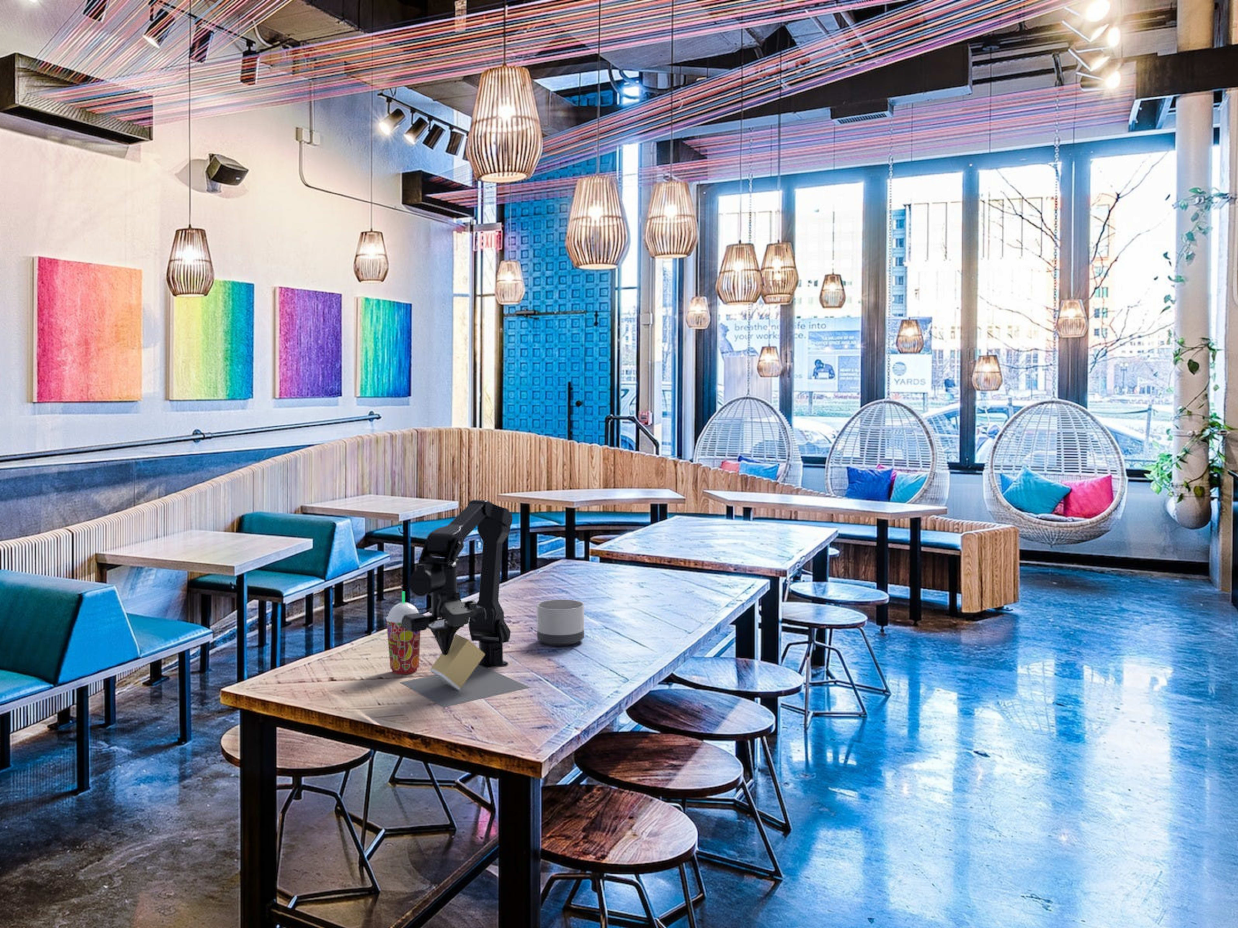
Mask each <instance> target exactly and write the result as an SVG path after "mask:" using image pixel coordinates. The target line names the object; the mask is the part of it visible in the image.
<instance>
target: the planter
mask: <svg viewBox="0 0 1238 928" xmlns="http://www.w3.org/2000/svg"><path fill="white" fill-rule="evenodd" d="M536 626H537V627H536V636H537V637H536V639H537V640H538V641H539V642H541V643H543V644H546V645H548V646H552V647H553V646H555V647H565V646H571V645H574V644H576V643H580V641H582V640H583V639H584V638H585V603H584V602H582V601H579V600H575V599H549V600H548V599H547V600H542V601H540V602H538V603H537V604H536Z"/></svg>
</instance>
